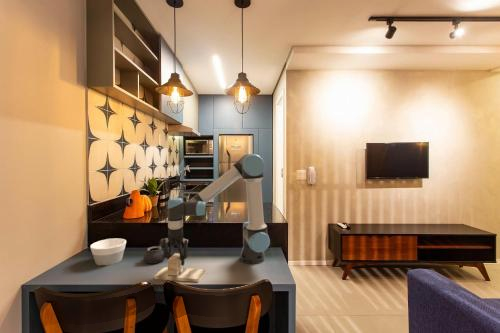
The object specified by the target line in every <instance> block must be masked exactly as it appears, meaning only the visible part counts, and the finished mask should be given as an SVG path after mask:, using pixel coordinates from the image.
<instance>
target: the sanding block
mask: <svg viewBox="0 0 500 333" xmlns="http://www.w3.org/2000/svg"><path fill="white" fill-rule="evenodd" d="M180 259H181V258H180V254H179V252H178V253H176V252H174V254H172V256H171V257H170V258H169V259H167V267H168V276H176V277H177V276H178V275H179V274H180V273H181V272H180V266H179V260H180ZM184 268H185V264H184V265H183V269H184Z"/></svg>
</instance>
